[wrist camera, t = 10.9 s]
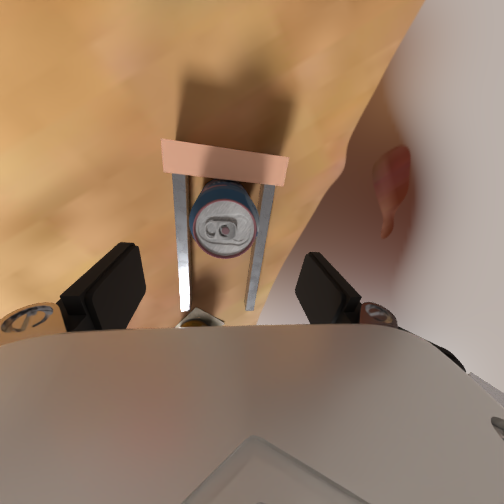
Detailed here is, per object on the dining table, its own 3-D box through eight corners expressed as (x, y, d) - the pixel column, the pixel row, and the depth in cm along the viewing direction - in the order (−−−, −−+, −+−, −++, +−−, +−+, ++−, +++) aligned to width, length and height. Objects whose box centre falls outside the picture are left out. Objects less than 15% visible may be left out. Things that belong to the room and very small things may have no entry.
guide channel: (175, 142, 23) (170, 140, 21) (275, 156, 25) (280, 157, 23) (183, 301, 35) (181, 311, 32) (251, 301, 37) (253, 310, 35)
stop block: (175, 142, 23) (160, 138, 18) (275, 156, 25) (289, 157, 20) (176, 168, 24) (163, 172, 19) (271, 179, 27) (283, 186, 21)
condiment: (170, 331, 38) (150, 399, 27) (196, 306, 36) (184, 370, 25) (199, 344, 41) (191, 409, 30) (224, 322, 39) (225, 384, 28)
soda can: (249, 178, 26) (267, 194, 16) (246, 224, 29) (259, 264, 19) (199, 174, 25) (181, 189, 14) (201, 223, 28) (188, 264, 18)
